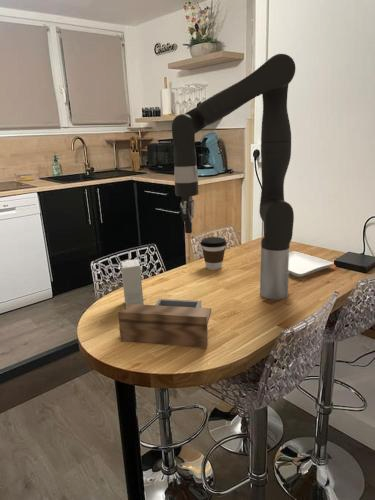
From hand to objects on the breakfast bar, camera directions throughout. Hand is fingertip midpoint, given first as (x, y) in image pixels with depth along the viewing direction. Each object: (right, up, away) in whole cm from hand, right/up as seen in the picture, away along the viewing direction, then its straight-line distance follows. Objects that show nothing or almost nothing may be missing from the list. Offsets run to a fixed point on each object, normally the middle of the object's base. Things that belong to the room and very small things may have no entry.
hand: (188, 232), depth 128 cm
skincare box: (-18, -24, +1) cm, 31 cm away
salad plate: (+45, -14, +31) cm, 56 cm away
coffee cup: (+11, -13, +34) cm, 38 cm away
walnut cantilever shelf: (-6, -30, -19) cm, 36 cm away
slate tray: (-5, -27, -11) cm, 30 cm away
